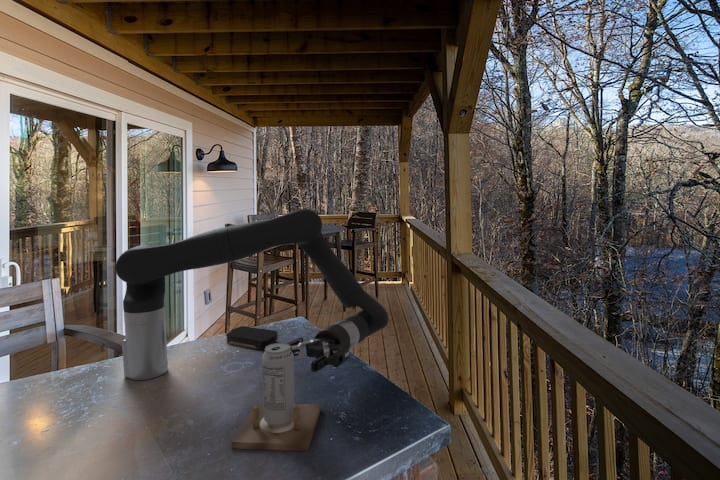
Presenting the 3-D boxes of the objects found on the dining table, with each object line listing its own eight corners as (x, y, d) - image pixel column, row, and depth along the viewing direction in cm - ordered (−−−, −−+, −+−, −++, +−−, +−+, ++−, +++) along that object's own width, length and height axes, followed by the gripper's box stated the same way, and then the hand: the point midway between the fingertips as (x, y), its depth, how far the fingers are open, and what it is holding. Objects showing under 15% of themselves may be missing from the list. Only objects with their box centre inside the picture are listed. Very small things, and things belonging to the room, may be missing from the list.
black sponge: (281, 342, 127) (280, 331, 127) (263, 352, 120) (263, 340, 119) (241, 335, 134) (240, 325, 134) (222, 344, 127) (221, 332, 126)
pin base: (231, 448, 73) (230, 420, 72) (256, 408, 87) (255, 385, 86) (308, 450, 72) (307, 423, 71) (320, 410, 86) (320, 386, 85)
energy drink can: (301, 418, 80) (299, 345, 79) (280, 433, 75) (278, 355, 74) (279, 409, 83) (277, 339, 82) (257, 423, 78) (254, 349, 77)
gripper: (313, 319, 100) (268, 340, 86) (363, 328, 93) (324, 352, 79) (314, 349, 101) (270, 374, 87) (364, 359, 94) (325, 388, 80)
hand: (295, 363), depth 83 cm, fingers open, 8 cm apart
